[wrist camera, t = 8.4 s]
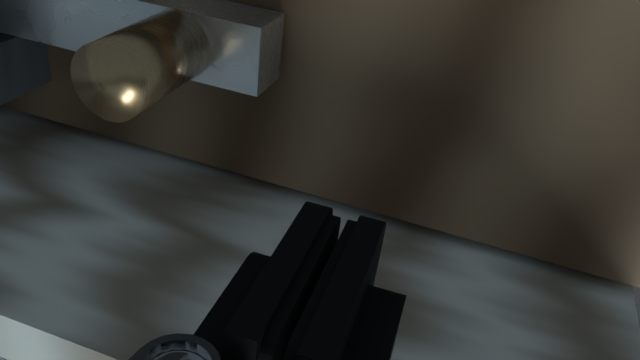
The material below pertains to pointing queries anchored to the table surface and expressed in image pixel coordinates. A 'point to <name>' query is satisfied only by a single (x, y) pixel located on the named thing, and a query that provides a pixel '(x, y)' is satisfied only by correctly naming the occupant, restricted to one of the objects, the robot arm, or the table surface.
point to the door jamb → (343, 180)
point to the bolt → (152, 47)
